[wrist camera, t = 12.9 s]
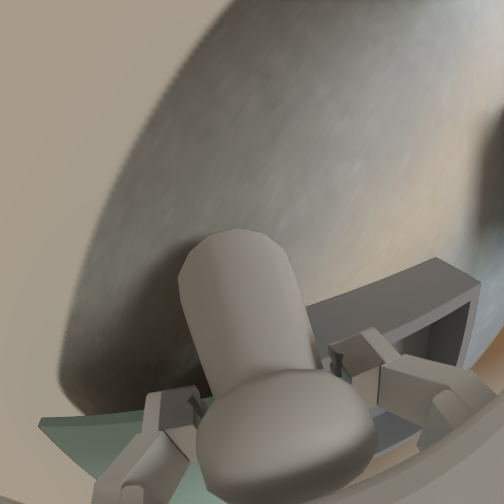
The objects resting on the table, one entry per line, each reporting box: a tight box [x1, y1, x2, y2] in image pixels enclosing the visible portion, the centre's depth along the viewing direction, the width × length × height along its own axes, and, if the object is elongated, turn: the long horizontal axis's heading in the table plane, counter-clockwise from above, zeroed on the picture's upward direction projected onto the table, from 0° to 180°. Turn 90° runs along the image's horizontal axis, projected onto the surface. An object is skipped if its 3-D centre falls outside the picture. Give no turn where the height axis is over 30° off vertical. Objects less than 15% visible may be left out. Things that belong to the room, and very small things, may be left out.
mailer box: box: [305, 257, 481, 460], centre depth 19 cm, size 16×16×5 cm
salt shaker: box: [178, 228, 379, 504], centre depth 11 cm, size 6×6×13 cm
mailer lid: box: [38, 396, 228, 504], centre depth 14 cm, size 16×16×4 cm
